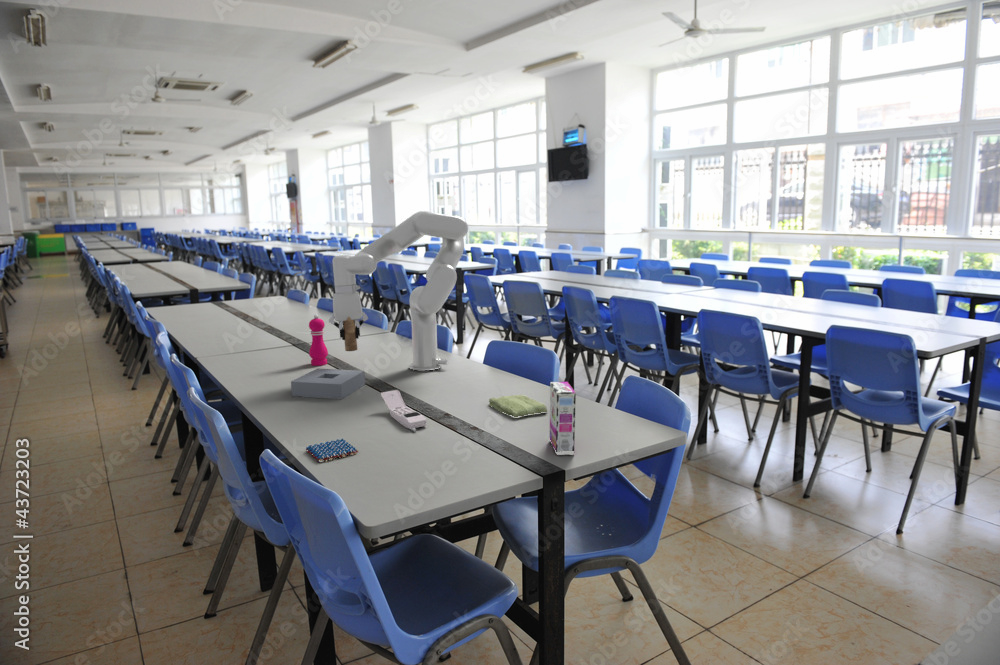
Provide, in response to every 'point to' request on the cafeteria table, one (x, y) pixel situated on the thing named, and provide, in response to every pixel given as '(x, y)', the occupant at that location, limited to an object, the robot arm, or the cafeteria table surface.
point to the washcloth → (517, 405)
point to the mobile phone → (403, 411)
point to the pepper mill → (317, 342)
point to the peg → (350, 335)
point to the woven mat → (331, 450)
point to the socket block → (328, 383)
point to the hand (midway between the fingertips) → (350, 338)
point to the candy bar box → (562, 416)
